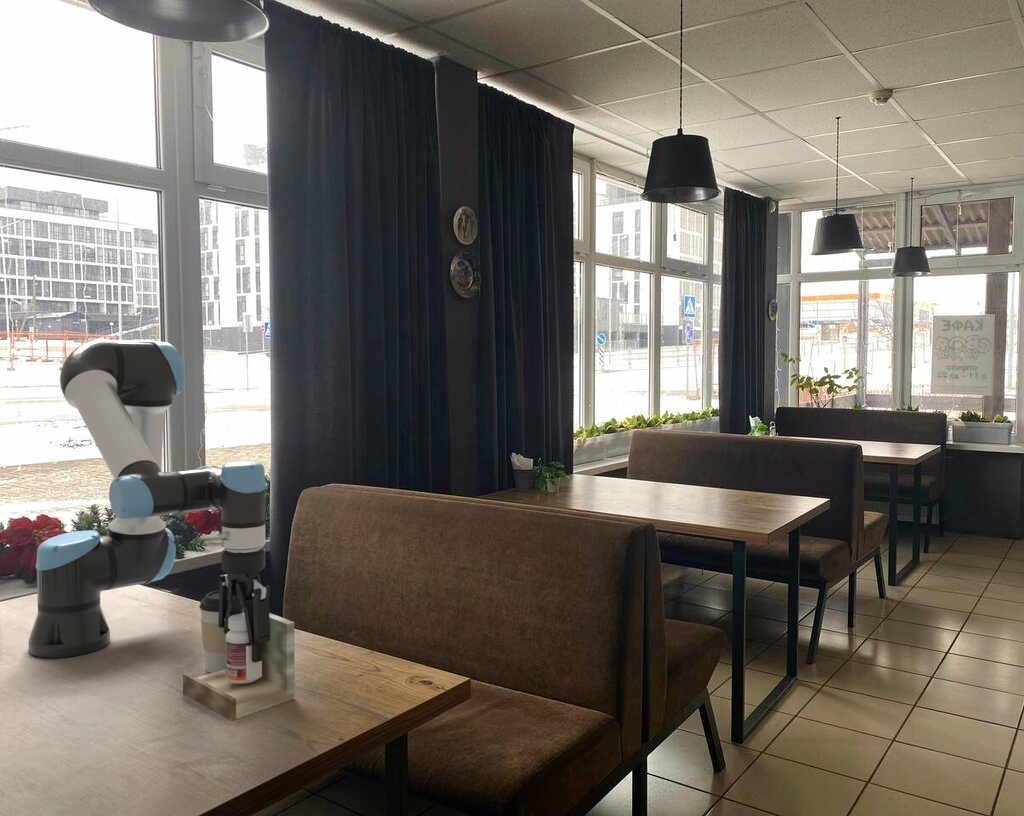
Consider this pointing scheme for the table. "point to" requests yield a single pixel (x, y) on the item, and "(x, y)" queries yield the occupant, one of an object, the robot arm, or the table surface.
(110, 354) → the robot arm
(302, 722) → the table surface
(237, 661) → the pill bottle
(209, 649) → the coffee cup
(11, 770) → the table surface
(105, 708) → the table surface
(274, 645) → the wooden l-shaped piece
